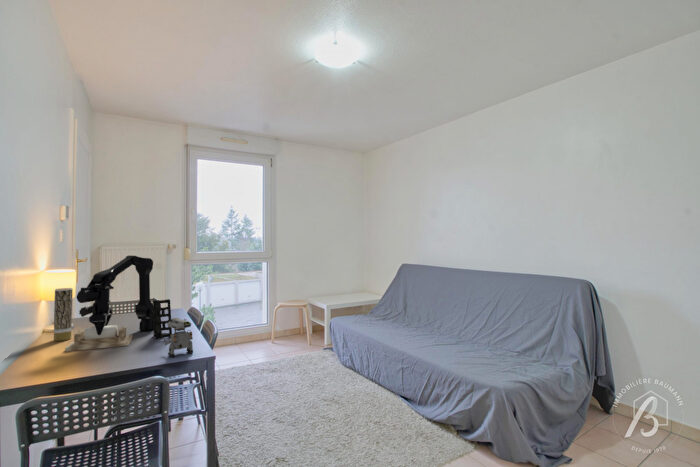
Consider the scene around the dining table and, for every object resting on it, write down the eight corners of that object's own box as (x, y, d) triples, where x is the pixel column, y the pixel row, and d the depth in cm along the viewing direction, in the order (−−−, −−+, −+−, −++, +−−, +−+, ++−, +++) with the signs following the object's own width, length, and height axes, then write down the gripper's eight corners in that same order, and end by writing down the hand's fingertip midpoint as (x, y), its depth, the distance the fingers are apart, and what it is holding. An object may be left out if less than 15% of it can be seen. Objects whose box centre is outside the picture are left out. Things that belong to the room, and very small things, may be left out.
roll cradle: (132, 337, 179) (133, 324, 180) (128, 345, 167) (128, 331, 167) (74, 343, 170) (74, 329, 170) (64, 351, 157) (65, 336, 157)
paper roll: (117, 336, 173) (118, 323, 174) (115, 339, 168) (115, 326, 168) (87, 338, 168) (87, 326, 169) (83, 342, 163) (84, 328, 163)
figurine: (184, 348, 163) (185, 315, 163) (194, 354, 155) (195, 319, 155) (163, 352, 156) (163, 318, 157) (172, 359, 148) (173, 323, 149)
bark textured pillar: (61, 342, 171) (62, 290, 172) (49, 341, 172) (51, 289, 173) (74, 338, 178) (76, 288, 178) (63, 337, 179) (65, 287, 180)
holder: (176, 334, 185) (175, 297, 184) (168, 340, 178) (166, 300, 176) (157, 334, 186) (154, 296, 185) (147, 339, 179) (145, 300, 177)
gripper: (86, 297, 174) (86, 329, 174) (75, 303, 157) (74, 339, 157) (113, 296, 178) (113, 327, 178) (105, 302, 161) (104, 336, 161)
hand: (101, 332), depth 168 cm, fingers open, 9 cm apart
